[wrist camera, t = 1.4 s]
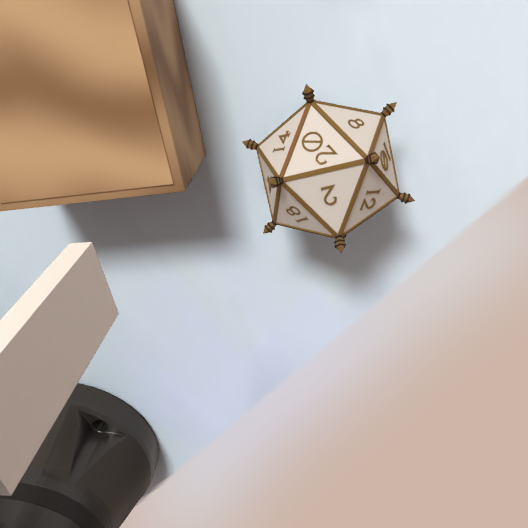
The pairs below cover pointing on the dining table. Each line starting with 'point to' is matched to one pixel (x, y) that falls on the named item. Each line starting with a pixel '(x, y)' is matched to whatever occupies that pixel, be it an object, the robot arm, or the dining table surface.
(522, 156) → the dining table surface
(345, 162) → the game die
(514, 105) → the dining table surface
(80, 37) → the pedestal
